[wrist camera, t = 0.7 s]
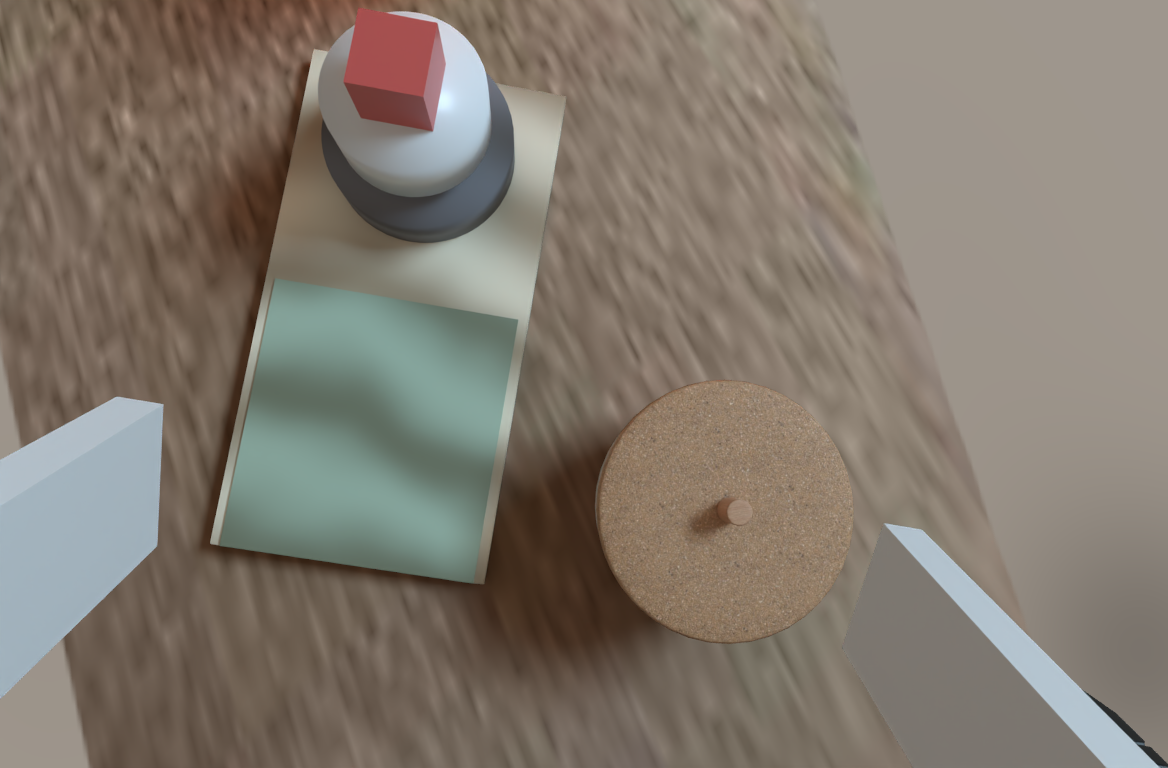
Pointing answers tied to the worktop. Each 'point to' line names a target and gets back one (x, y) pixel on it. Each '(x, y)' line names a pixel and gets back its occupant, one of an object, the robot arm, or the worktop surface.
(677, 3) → the worktop surface
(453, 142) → the dome
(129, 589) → the worktop surface
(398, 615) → the worktop surface
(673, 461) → the lidded jar
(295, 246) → the game board
